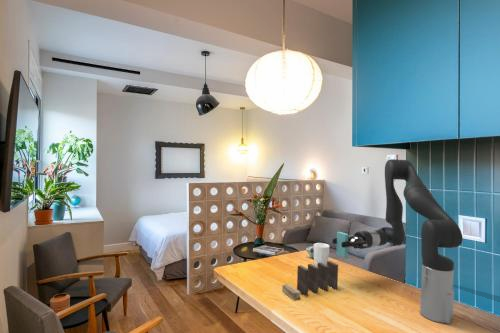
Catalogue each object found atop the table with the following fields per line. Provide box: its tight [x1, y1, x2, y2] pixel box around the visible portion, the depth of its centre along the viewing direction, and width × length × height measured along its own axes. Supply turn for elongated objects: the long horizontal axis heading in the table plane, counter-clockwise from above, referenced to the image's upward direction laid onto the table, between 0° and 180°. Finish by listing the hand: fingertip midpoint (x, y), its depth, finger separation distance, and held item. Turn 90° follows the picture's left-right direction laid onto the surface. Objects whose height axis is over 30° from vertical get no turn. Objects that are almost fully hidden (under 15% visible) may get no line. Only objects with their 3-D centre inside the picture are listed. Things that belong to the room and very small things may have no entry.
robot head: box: [305, 245, 314, 259], centre depth 160 cm, size 8×4×7 cm, turn 72°
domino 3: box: [317, 262, 329, 292], centre depth 122 cm, size 2×5×10 cm, turn 26°
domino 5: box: [335, 231, 349, 259], centre depth 127 cm, size 2×5×10 cm, turn 25°
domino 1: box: [296, 264, 309, 296], centre depth 118 cm, size 2×5×10 cm, turn 25°
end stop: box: [281, 283, 301, 301], centre depth 116 cm, size 3×8×2 cm, turn 26°
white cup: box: [313, 242, 331, 267], centre depth 151 cm, size 8×8×10 cm
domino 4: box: [327, 260, 339, 290], centre depth 124 cm, size 2×5×10 cm, turn 26°
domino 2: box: [307, 263, 319, 294], centre depth 120 cm, size 2×5×10 cm, turn 26°
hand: (337, 243), depth 125 cm, fingers closed on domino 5, 5 cm apart
